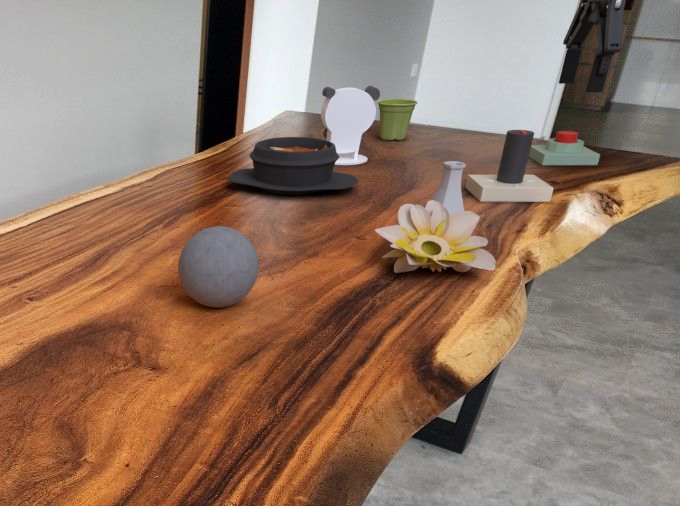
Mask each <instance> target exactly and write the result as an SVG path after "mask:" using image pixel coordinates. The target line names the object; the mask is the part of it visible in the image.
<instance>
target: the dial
mask: <svg viewBox="0 0 680 506" xmlns="http://www.w3.org/2000/svg"><path fill="white" fill-rule="evenodd" d="M534 136H535V132H534V131H533V130H528V129H527V130H526V129H510V130H507V131H506V135H505V139H504V144H503V148H502V153H501V157H500V162H499V165H498V170H497V174H496V175H497V179H496V180H497V181H499V182H503V183H512V184H514V183H521V182H523V178H524V175H526V169H527V165H528V161H529V158H530V157H529V153H530V149H531V145H533V142H534V141H533V140H534Z"/></svg>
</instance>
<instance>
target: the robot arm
mask: <svg viewBox="0 0 680 506" xmlns="http://www.w3.org/2000/svg"><path fill="white" fill-rule="evenodd" d="M626 2H627V0H579V2H578V3H579V4H578V7H577V9H576V11H575V14H574V16H573V18H572V21H571V23H570V26H569V28H568V30H567V32H566V34H565V36H564V39H563V42H562V44H563V45H564V46H565V49H566V51H565V56H564V59H563V63H562V67H561V72H560V75H559V80H558V84H560V85H561V84H564V85H566V84H574V82H575V78H576V74H577V70H578V66H579V64H580V63H579V62H580V59H581V55H582V51H583V50H582V49H584V42H585V40H586V38H587V37H588V35H589V34H590V32H591V31H592V29H593V27H594V25H595V26H596V32H597V46H598V49H597V51H596V52H595V53H594V60H593V62H592V63H593V64H592V67H591V71H590V75H589V79H588V82H587V87H586V90H585V93H603V91H604V86H605V83H606V80H607V76H608V72H609V69H610V65H611V62H612V58H613V56H615V54H616V53H621V52H620V51H621V50H622V41H623V26H624V11H625V6H626Z"/></svg>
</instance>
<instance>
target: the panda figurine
mask: <svg viewBox="0 0 680 506" xmlns="http://www.w3.org/2000/svg"><path fill="white" fill-rule="evenodd" d="M321 94H322V96H323V97H325V99H324V101H323V104H322V107H321V111H320V118H321V122H322V125H323V126H324V127H325V129H324V131H323V133H322V135H323V138H324V139H325V140H326V141H329V142H332V143H334V144H335V148H336V152H337V154H338V155H339V159H338V160H337V161H336V162H335V165H334V166H355V165H361V164H365V163H367V162H368V157H367V156H365V155H363V154H359V150H360V147H361V141H362V136H363V134H364V133H365V132H367V131H368V130H369V129H370V127H371V126H372V125H373V123H374V121H375V120H376V117H377V107H376V104H375V101H379V100H380V97H381V91H380V89H379V88H378V87H375V86H372V85H368V86H366V88H365V89H364V90H363V89H361V88H357V87H349V86H348V87H340V88H336V89H334V88H332V87H331V86H326V87H323V89H322V93H321Z"/></svg>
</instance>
